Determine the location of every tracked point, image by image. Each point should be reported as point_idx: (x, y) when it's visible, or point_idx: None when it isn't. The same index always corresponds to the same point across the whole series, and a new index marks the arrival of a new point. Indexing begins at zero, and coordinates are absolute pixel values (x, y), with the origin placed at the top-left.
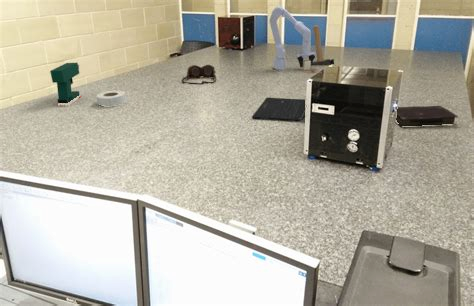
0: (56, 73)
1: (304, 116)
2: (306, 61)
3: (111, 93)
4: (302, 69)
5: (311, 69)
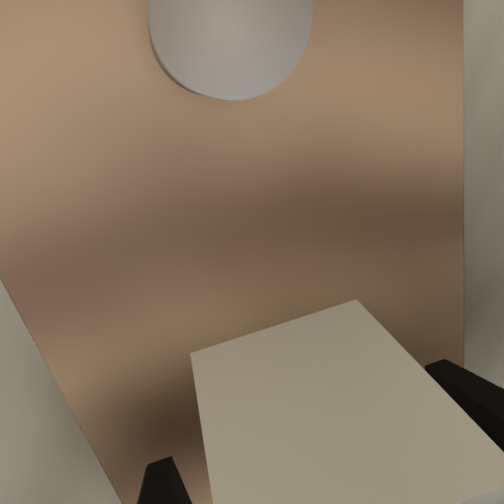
0: None
1: None
2: (441, 499)
3: None
4: None
5: (172, 318)
